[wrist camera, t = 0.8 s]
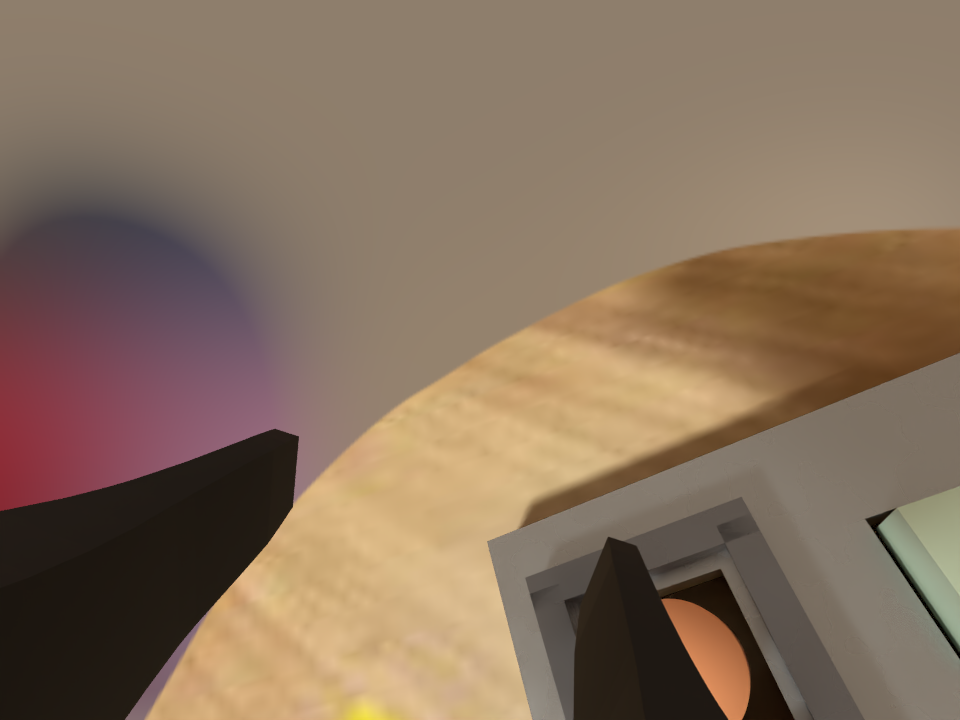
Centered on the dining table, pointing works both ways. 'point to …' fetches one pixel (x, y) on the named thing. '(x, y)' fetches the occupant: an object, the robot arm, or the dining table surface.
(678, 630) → the button
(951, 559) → the pale green block
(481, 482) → the dining table surface
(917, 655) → the control box
